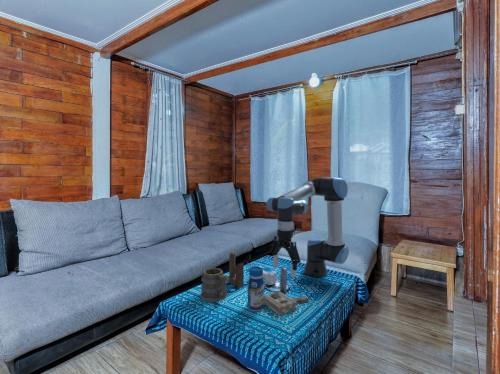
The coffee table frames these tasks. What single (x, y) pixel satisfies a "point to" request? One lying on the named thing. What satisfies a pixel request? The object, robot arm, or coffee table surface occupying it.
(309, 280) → the coffee table surface
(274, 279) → the bone shaped toy
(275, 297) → the socket block
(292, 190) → the robot arm
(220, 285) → the tankard
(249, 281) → the beverage bottle
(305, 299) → the walnut slat
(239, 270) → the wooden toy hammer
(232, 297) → the coffee table surface
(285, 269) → the peg
